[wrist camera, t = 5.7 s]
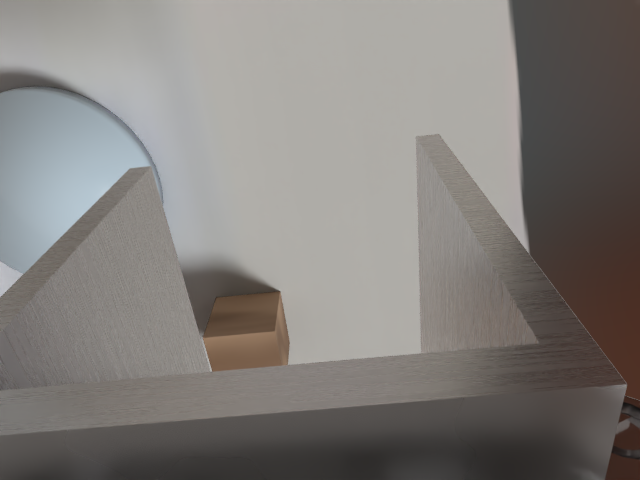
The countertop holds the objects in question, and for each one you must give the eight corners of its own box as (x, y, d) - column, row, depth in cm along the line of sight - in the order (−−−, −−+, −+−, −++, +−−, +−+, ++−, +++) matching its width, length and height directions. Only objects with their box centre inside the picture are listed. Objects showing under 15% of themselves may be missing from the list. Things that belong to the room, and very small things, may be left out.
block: (289, 341, 32) (285, 386, 29) (229, 347, 33) (218, 391, 29) (280, 290, 30) (274, 331, 27) (216, 296, 31) (202, 338, 27)
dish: (198, 239, 29) (193, 248, 28) (40, 296, 31) (30, 308, 30) (90, 51, 24) (79, 54, 23) (-89, 133, 26) (-107, 140, 25)
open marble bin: (439, 373, 14) (546, 729, 7) (199, 393, 15) (95, 749, 8) (438, 134, 11) (627, 384, 4) (130, 168, 11) (-151, 447, 5)
